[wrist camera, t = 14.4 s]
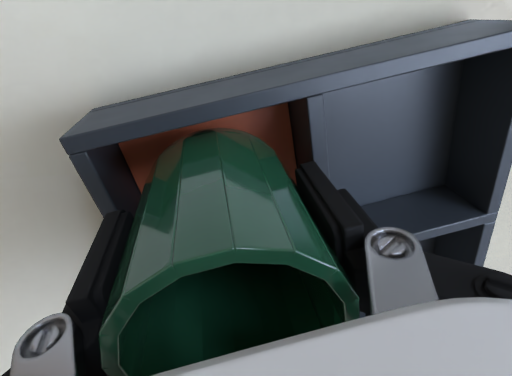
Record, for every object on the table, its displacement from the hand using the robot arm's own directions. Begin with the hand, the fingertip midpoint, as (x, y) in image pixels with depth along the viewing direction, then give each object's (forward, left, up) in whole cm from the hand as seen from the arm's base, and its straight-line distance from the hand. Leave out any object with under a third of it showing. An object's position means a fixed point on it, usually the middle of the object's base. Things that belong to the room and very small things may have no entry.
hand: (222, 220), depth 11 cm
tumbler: (0, 0, -2) cm, 2 cm away
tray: (+4, +4, -4) cm, 7 cm away
